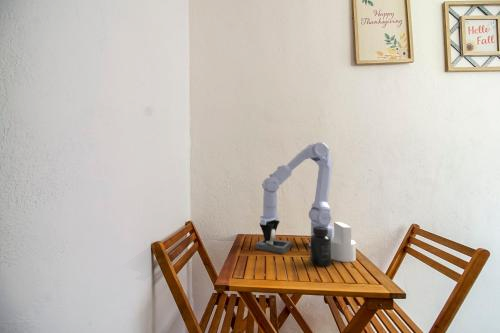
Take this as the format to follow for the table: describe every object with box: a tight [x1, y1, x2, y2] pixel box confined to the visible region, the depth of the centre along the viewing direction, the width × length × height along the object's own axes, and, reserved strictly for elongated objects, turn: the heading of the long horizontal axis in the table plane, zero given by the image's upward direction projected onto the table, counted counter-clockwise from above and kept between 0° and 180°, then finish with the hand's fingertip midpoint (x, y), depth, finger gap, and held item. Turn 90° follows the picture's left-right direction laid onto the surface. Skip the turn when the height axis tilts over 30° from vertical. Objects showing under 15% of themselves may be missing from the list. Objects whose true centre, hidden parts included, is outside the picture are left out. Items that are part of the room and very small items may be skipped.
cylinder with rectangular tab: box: [331, 221, 357, 263], centre depth 83 cm, size 9×9×12 cm
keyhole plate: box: [254, 238, 292, 255], centre depth 92 cm, size 12×10×2 cm
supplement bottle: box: [309, 227, 332, 268], centre depth 77 cm, size 7×7×12 cm
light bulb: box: [266, 229, 276, 245], centre depth 93 cm, size 4×4×7 cm
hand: (269, 239), depth 93 cm, fingers closed on light bulb, 4 cm apart
